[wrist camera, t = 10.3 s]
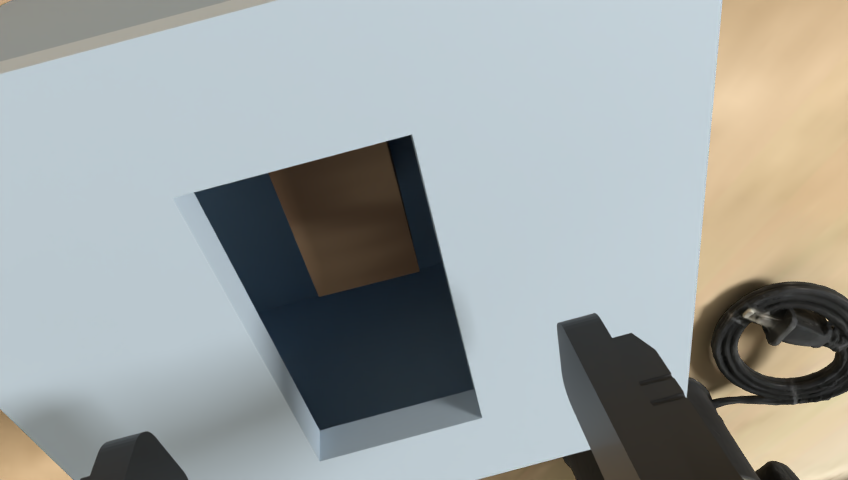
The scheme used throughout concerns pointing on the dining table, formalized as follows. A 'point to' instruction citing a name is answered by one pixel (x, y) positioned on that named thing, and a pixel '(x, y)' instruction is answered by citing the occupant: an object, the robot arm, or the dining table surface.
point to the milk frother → (781, 321)
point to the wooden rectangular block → (348, 218)
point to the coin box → (277, 248)
